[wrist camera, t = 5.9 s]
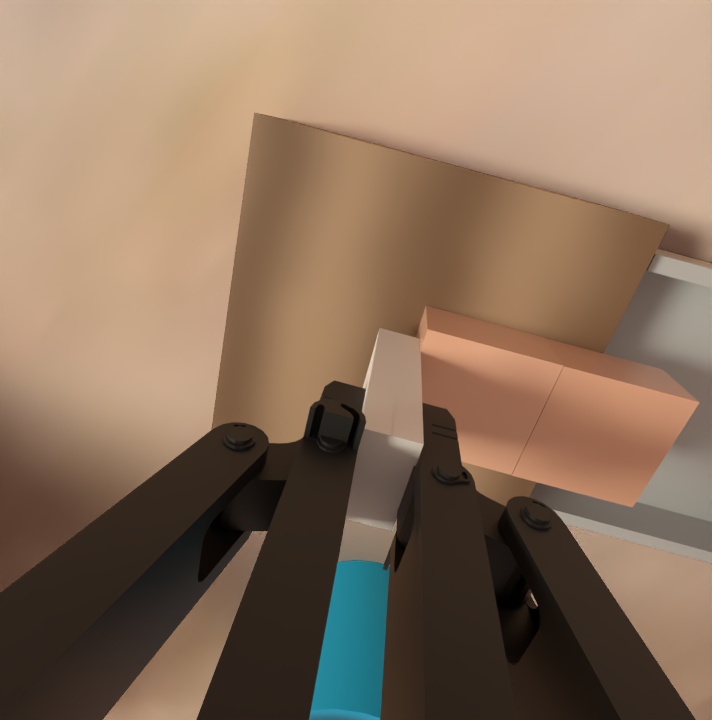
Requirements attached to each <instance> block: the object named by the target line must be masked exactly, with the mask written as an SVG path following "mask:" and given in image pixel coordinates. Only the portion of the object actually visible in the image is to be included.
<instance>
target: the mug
mask: <svg viewBox="0 0 712 720" xmlns="http://www.w3.org/2000/svg"><path fill="white" fill-rule="evenodd" d="M383 566H384V565H383V564H380V563H377V562H368V561H359V560H353V561H345V562H338V563H337V568H336V574H335V579H334V585H333V590H332V596H331V601H330V607H329V612H328V618H327V623H326V629H325V634H324V640H323V645H322V651H321V657H320V662H319V668H318V673H317V679H316V684H315V690H314V695H313V701H312V706H311V712H310V717H309V720H380V715H381V699H382V682H383V666H384V649H385V633H386V616H387V600H388V583H389V566H388V569H387V570H383Z"/></svg>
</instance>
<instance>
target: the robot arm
mask: <svg viewBox="0 0 712 720" xmlns="http://www.w3.org/2000/svg"><path fill="white" fill-rule="evenodd" d="M456 431H457V429H456V422H455V419H454V418H453V416H452V415H451V414H450V412H449V411H448V410H447V409H444V408H441V407H437V406H433V405H429V404H426V403H422V379H421V352H420V339H419V338H416V337H412V336H408V335H404V334H401V333H397V332H393V331H389V330H386V329H382V328H379V332H378V335H377V339H376V342H375V346H374V349H373V353H372V357H371V360H370V364H369V367H368V371H367V374H366V378H365V381H364V385H363V388H361V387H357V386H354V385H350V384H346V383H342V382H339V381H335V380H334V381H332V382H331V383H329V384H328V385H326V386H325V387H324V390H323V392H322V395H321V398H320V400H319V401H316V402H314V403H313V404H312V406H311V407H310V410H309V414H308V419H307V423H306V427H305V432H304V436H303V438H301V439H300V440H297V441H295V442H290V443H269V439H268V437H267V435H266V434H265V433H264V431H262V430H261V429H259V428H257V427H256V426H253V425H250V424H247V423H238V422H231V423H226V424H222V425H220V426H218V427H216V428H214V429H213V430H211V431H210V432H209V433H207V434H206V435H205V436H203V437H202V438H201V439H200V440H198V441H197V442H196V443H194V444H193V445H192V446H191V447H189V448H188V449H187V450H185V451H184V452H183V453H181V454H180V455H179V456H178V457H176V458H175V459H174V460H172V461H171V462H170V463H168V464H167V465H166V466H165V467H163V468H162V469H161V470H159V471H158V472H157V473H155V474H154V475H153V476H152V477H150V478H149V479H148V480H146V481H145V482H144V483H143V484H141V485H140V486H139V487H137V488H136V489H135V490H133V491H132V492H131V493H130V494H128V495H127V496H126V497H124V498H123V499H122V500H120V501H119V502H118V503H117V504H115V505H114V506H113V507H111V508H110V509H109V510H107V511H106V512H105V513H104V514H102V515H101V516H100V517H98V518H97V519H96V520H95V521H93V522H92V523H91V524H89V525H88V526H87V527H85V528H84V529H83V530H82V531H80V532H79V533H78V534H76V535H75V536H74V537H72V538H71V539H70V540H69V541H67V542H66V543H65V544H63V545H62V546H61V547H59V548H58V549H57V550H56V551H54V552H53V553H52V554H50V555H49V556H48V557H47V558H45V559H44V560H43V561H41V562H40V563H39V564H37V565H36V566H35V567H34V568H32V569H31V570H30V571H28V572H27V573H26V574H24V575H23V576H22V577H21V578H19V579H18V580H17V581H15V582H14V583H13V584H11V585H10V586H9V587H8V588H6V589H5V590H4V591H2V592H1V593H0V720H103V718H104V717H105V716H106V715H107V714H108V712H109V711H110V710H111V709H112V707H113V706H114V705H115V704H116V702H117V701H118V700H119V699H120V697H121V696H122V695H123V694H124V692H125V691H126V690H127V689H128V687H129V686H130V685H131V684H132V682H133V681H134V680H135V679H136V677H137V676H138V675H139V674H140V672H141V671H142V670H143V669H144V667H145V666H146V665H147V664H148V663H149V661H150V660H151V659H152V658H153V656H154V655H155V654H156V653H157V651H158V650H159V649H160V648H161V646H162V645H163V644H164V643H165V641H166V640H167V639H168V638H169V636H170V635H171V634H172V633H173V631H174V630H175V629H176V628H177V626H178V625H179V624H180V623H181V621H182V620H183V619H184V618H185V617H186V615H187V614H188V613H189V612H190V610H191V609H192V608H193V607H194V605H195V604H196V603H197V602H198V600H199V599H200V598H201V597H202V595H203V594H204V593H205V592H206V590H207V589H208V588H209V587H210V585H211V584H212V583H213V582H214V580H215V579H216V578H217V577H218V575H219V574H220V573H221V572H222V571H223V569H224V568H225V567H226V566H227V564H228V563H229V562H230V561H231V559H232V558H233V557H234V556H235V554H236V553H237V552H238V551H239V549H240V548H241V547H242V546H243V544H244V543H245V542H246V541H247V539H248V538H249V536H250V534H251V532H252V531H268V532H267V534H266V537H265V540H264V542H263V545H262V548H261V550H260V553H259V556H258V558H257V561H256V563H255V566H254V569H253V571H252V574H251V577H250V579H249V582H248V585H247V587H246V590H245V593H244V595H243V598H242V601H241V603H240V606H239V609H238V611H237V614H236V616H235V619H234V622H233V624H232V627H231V630H230V632H229V635H228V638H227V640H226V643H225V646H224V648H223V651H222V654H221V656H220V659H219V662H218V664H217V667H216V670H215V672H214V675H213V677H212V680H211V683H210V685H209V688H208V691H207V693H206V696H205V699H204V701H203V704H202V707H201V709H200V712H199V715H198V717H197V720H309V717H310V712H311V706H312V701H313V695H314V690H315V684H316V679H317V673H318V668H319V662H320V657H321V651H322V645H323V640H324V634H325V629H326V623H327V618H328V612H329V607H330V601H331V596H332V590H333V585H334V579H335V574H336V568H337V563H338V557H339V552H340V546H341V540H342V535H343V529H344V524H345V519H347V520H351V521H355V522H358V523H362V524H366V525H370V526H373V527H377V528H381V529H385V530H388V531H392V530H393V527H394V524H395V521H396V519H397V531H396V534H395V536H394V539H393V542H392V544H391V547H390V550H389V552H388V555H387V558H386V561H385V563H384V566H383V570H387V569H388V566H389V564H390V567H389V583H388V600H387V616H386V633H385V649H384V666H383V682H382V699H381V715H380V720H695V718H694V717H693V715H692V714H691V712H690V711H689V709H688V708H687V706H686V705H685V703H684V702H683V700H682V699H681V697H680V696H679V694H678V693H677V691H676V690H675V688H674V687H673V685H672V684H671V682H670V681H669V679H668V678H667V676H666V675H665V673H664V672H663V670H662V669H661V667H660V666H659V664H658V663H657V661H656V660H655V658H654V657H653V655H652V654H651V652H650V651H649V649H648V648H647V646H646V645H645V643H644V642H643V640H642V639H641V637H640V636H639V634H638V633H637V631H636V630H635V628H634V627H633V625H632V624H631V622H630V621H629V619H628V618H627V616H626V615H625V613H624V612H623V610H622V609H621V607H620V606H619V604H618V603H617V601H616V600H615V598H614V597H613V595H612V594H611V592H610V591H609V589H608V588H607V586H606V585H605V583H604V582H603V580H602V579H601V577H600V576H599V574H598V573H597V571H596V570H595V568H594V567H593V565H592V564H591V562H590V561H589V559H588V558H587V556H586V555H585V553H584V552H583V550H582V549H581V547H580V546H579V544H578V543H577V541H576V540H575V538H574V537H573V535H572V534H571V532H570V531H569V529H568V528H567V526H566V525H565V523H564V522H563V520H562V519H561V518H560V517H559V516H558V515H557V513H556V512H555V511H554V510H552V509H551V508H549V507H548V506H547V505H545V504H544V503H542V502H540V501H538V500H535V499H533V498H529V497H525V496H517V497H513V498H511V499H510V500H508V502H507V504H506V506H504V505H502V504H500V503H498V502H496V501H494V500H492V499H490V498H488V497H486V496H484V495H483V494H481V493H480V492H478V491H477V490H476V486H475V481H474V479H473V477H472V475H471V474H470V472H469V471H468V470H467V469H466V468H465V467H463V466H462V462H461V455H460V449H459V442H458V435H457V432H456ZM531 593H532V594H533V596H534V598H535V600H536V602H537V604H538V607H537V606H536V604H535V603H534V601H533V599H532V597H531Z"/></svg>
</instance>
